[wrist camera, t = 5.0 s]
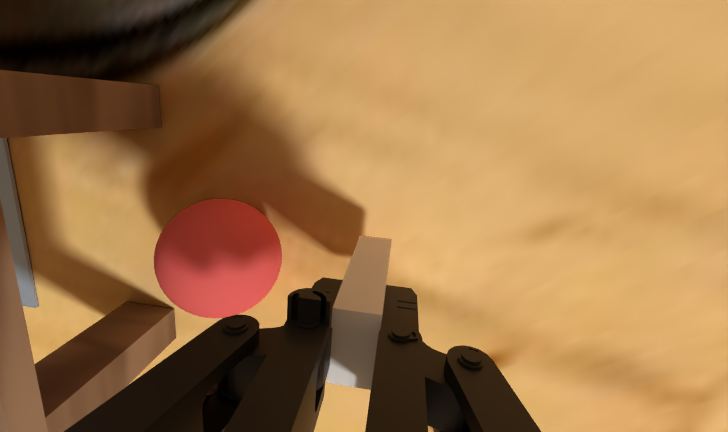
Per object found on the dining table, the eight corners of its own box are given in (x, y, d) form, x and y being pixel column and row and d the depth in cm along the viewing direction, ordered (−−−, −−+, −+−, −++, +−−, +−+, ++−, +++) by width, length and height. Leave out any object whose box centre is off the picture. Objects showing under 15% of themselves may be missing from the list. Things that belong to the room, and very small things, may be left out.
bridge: (129, 330, 22) (-51, 473, 14) (102, 80, 18) (-185, 51, 9) (176, 337, 22) (23, 487, 13) (158, 85, 18) (-81, 61, 9)
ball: (257, 350, 15) (295, 288, 20) (254, 223, 13) (295, 192, 19) (131, 336, 15) (200, 279, 21) (114, 211, 14) (193, 184, 19)
